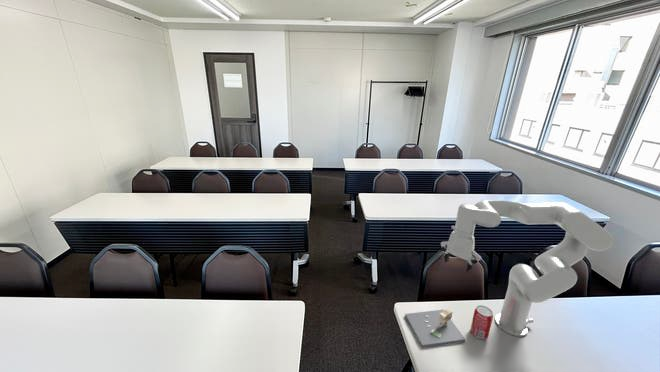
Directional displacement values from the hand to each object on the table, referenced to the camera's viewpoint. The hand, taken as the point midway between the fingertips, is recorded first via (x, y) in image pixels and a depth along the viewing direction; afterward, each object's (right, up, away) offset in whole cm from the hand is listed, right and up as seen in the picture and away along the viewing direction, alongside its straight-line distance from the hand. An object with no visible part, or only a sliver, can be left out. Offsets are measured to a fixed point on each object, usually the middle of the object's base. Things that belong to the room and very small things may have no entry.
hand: (457, 265), depth 119 cm
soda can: (+9, -31, -1) cm, 32 cm away
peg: (-8, -28, 0) cm, 29 cm away
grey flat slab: (-10, -29, +1) cm, 31 cm away
